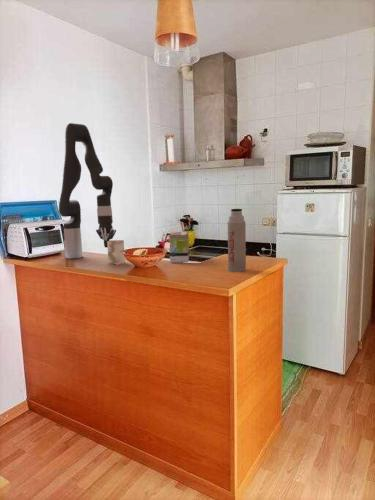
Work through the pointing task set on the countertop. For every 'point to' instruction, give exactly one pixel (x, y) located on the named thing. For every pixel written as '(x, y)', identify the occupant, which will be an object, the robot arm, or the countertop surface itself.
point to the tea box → (179, 247)
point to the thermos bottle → (236, 241)
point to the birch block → (115, 251)
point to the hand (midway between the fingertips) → (107, 247)
